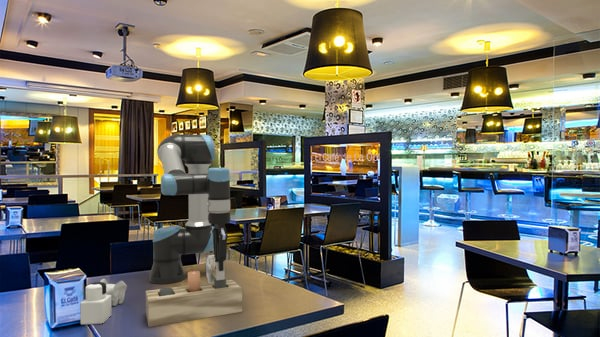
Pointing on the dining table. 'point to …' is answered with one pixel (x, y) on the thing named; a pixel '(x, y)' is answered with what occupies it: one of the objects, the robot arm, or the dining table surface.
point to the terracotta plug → (193, 281)
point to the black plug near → (166, 291)
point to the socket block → (192, 303)
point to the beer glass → (210, 268)
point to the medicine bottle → (95, 304)
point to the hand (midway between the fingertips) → (220, 279)
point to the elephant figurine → (115, 292)
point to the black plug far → (219, 284)
